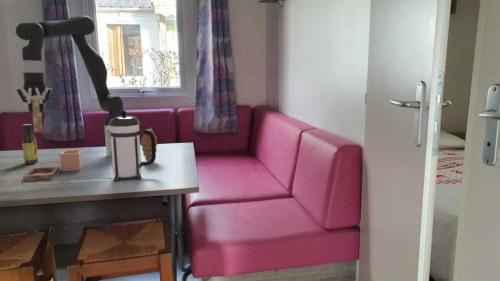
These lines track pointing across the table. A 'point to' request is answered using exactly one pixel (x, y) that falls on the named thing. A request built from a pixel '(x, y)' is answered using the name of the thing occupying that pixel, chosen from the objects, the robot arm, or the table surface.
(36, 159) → the sauce bottle
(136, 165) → the coffee press
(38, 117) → the dowel
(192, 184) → the table surface
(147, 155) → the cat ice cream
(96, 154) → the table surface
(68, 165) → the pink open box
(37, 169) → the tray
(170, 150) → the table surface
